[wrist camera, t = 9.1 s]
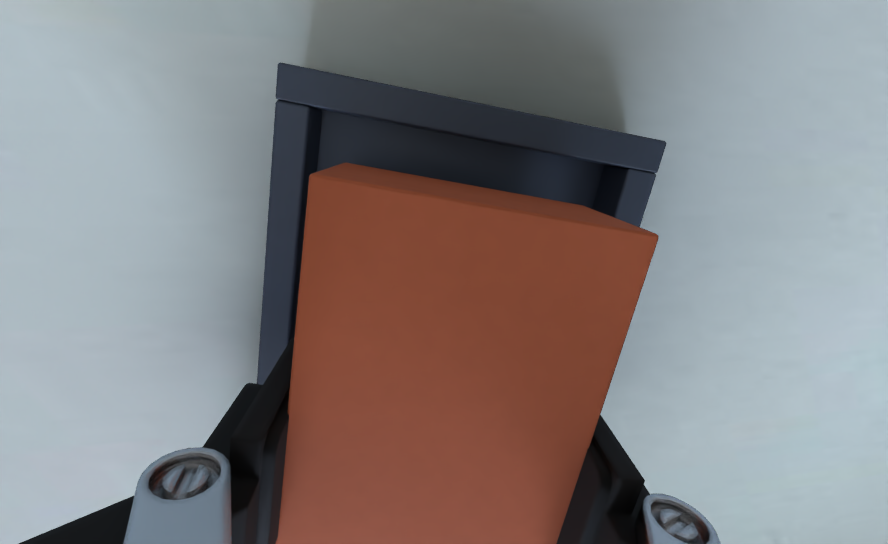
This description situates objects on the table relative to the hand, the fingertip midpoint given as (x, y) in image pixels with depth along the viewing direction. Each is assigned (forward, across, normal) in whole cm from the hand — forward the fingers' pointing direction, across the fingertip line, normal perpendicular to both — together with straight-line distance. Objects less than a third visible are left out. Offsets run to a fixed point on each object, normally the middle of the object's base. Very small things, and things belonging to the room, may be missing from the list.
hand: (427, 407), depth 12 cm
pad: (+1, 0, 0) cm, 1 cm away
